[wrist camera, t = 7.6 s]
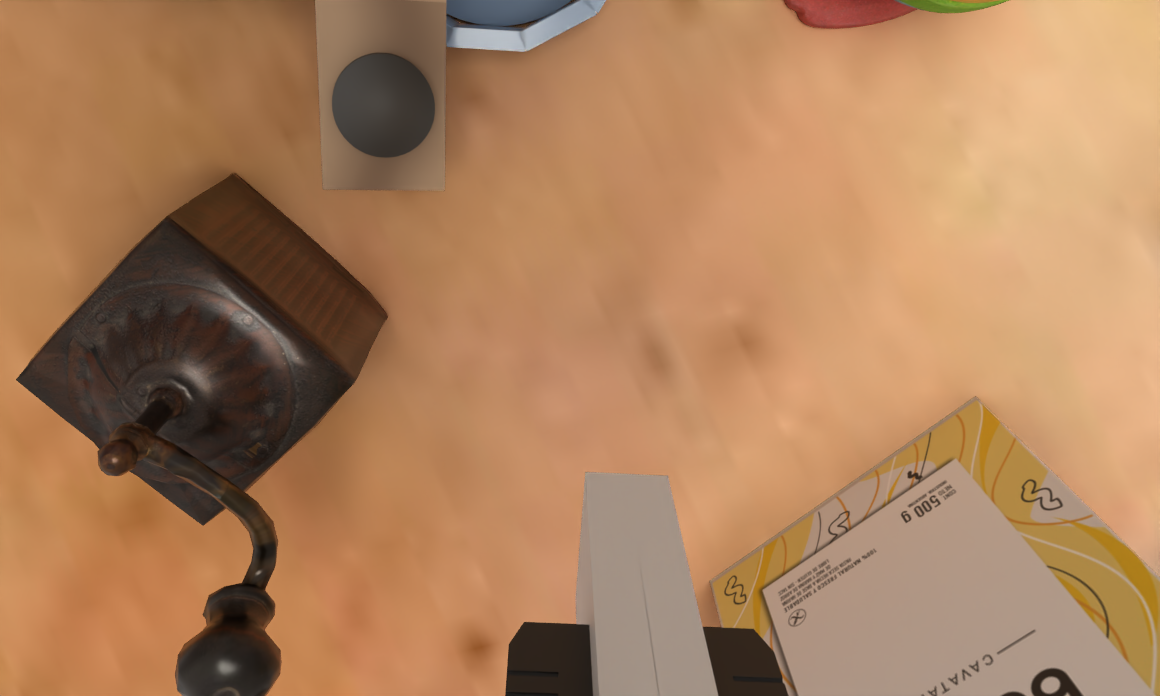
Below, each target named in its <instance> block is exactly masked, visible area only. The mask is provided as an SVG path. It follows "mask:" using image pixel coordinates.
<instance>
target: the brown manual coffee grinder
mask: <svg viewBox="0 0 1160 696" xmlns="http://www.w3.org/2000/svg"><path fill="white" fill-rule="evenodd" d="M387 318H388V316H387V314H386V313H385V311H384V310H383V309H382V308H381V306H380V305H379V304H378V303H377V301H376V300H375V299H374V297H373V296H372V295H371V294H370V292H369V291H368V290H367V289H366V288H365V287H364V286H363V285H362V284H361V283H360V282H359V281H358V280H356V279H355V278H354V277H353V276H352V275H351V274H350V273H349V272H348V271H347V270H346V269H345V268H344V267H343V266H342V265H341V264H339V263H338V262H337V261H336V260H335V259H334V258H333V257H332V256H331V255H330V254H328V253H327V252H326V251H325V250H324V249H323V248H322V247H321V246H320V245H319V244H317V243H316V242H315V241H314V240H313V239H312V238H311V237H310V236H309V235H307V234H306V233H305V232H304V231H303V230H302V229H301V228H299V227H298V226H297V225H296V224H295V223H294V222H292V221H291V220H290V219H289V218H288V217H286V216H285V215H284V214H283V213H282V212H280V211H279V210H278V209H277V208H276V207H274V206H273V205H272V204H271V203H270V202H269V201H267V200H266V199H265V198H264V197H263V196H261V195H260V194H259V193H258V192H257V191H255V190H254V189H253V188H252V187H251V186H250V185H248V184H247V183H246V182H245V181H244V180H242V179H241V178H240V177H239V176H238V175H236V174H231V175H230V176H229V177H228V178H227V179H225V180H223V181H222V182H220V183H218V184H217V185H215V186H213V187H212V188H210V189H208V190H207V191H205V192H203V193H202V194H200V195H199V196H197V197H195V198H194V199H192V200H191V201H189V202H188V203H186V204H185V205H183V206H182V207H180V208H179V209H177V210H176V211H174V212H173V213H171V214H170V215H168V216H167V217H166V218H165V219H164V220H162V221H161V222H160V223H159V224H158V225H157V226H156V227H155V228H154V229H153V230H152V231H150V232H149V233H148V234H147V235H146V236H145V237H144V238H143V239H142V240H141V241H140V242H139V243H137V244H136V245H135V246H134V247H133V248H132V249H131V250H130V252H129V253H128V254H127V255H126V256H125V257H124V258H123V259H122V260H121V261H120V262H119V263H118V264H117V265H116V266H115V268H114V269H113V270H112V271H111V272H110V273H109V274H108V275H107V276H106V277H105V278H104V279H103V280H102V282H101V283H100V284H99V285H98V286H97V287H96V288H95V289H94V290H93V291H92V292H91V293H90V294H89V295H88V297H87V298H86V299H85V300H84V301H83V302H82V303H81V304H80V305H79V306H78V307H77V308H76V309H75V311H74V312H73V313H72V314H71V315H70V316H69V317H68V318H67V319H66V320H65V321H64V322H63V323H62V325H61V326H60V327H59V328H58V329H57V330H56V331H55V332H54V333H53V334H52V336H51V337H50V338H49V339H48V340H47V341H46V343H45V344H44V345H43V346H42V347H41V348H40V350H39V351H38V352H37V353H36V354H35V356H34V357H33V358H32V359H31V361H30V362H29V364H28V366H27V367H26V368H25V369H24V371H23V372H22V373H21V374H20V375H19V377H18V378H17V379H16V380H17V381H18V382H19V383H20V384H22V385H23V386H24V387H25V388H27V389H28V390H29V391H30V392H31V393H33V394H34V395H35V396H36V397H38V398H39V399H40V400H41V401H42V402H44V403H45V404H46V405H47V406H49V407H50V408H51V409H52V410H53V411H55V412H56V413H57V414H58V415H60V416H61V417H62V418H63V419H65V420H66V421H67V422H68V423H70V424H71V425H72V426H74V427H75V428H76V429H78V430H79V431H80V432H81V433H83V434H84V435H85V436H87V437H88V438H89V439H90V440H92V441H93V442H94V443H95V444H96V446H97V447H98V448H99V449H100V450H99V451H98V465H99V467H100V469H101V471H103V472H104V473H105V474H107V475H112V476H121V475H123V474H125V473H127V472H128V471H130V472H131V473H133V474H135V475H137V476H138V477H140V478H141V479H142V480H143V481H145V482H146V483H147V484H149V485H150V486H151V487H153V488H154V489H155V490H156V491H158V492H159V493H160V494H162V495H163V496H164V497H165V498H167V499H168V500H169V501H171V502H172V503H173V504H175V505H176V506H177V507H179V508H180V509H181V510H183V511H184V512H185V513H187V514H188V515H189V516H191V517H192V518H193V519H195V520H196V521H197V522H199V523H200V524H201V525H205V524H206V523H207V522H209V521H210V520H211V519H213V518H214V517H215V516H217V515H218V514H219V513H221V512H222V511H223V510H225V509H226V508H227V509H228V510H229V511H230V512H232V513H233V514H234V515H235V516H236V517H238V519H239V520H240V521H241V522H242V524H243V525H244V526H245V528H246V529H247V530H248V531H249V534H250V538H251V541H252V545H253V548H254V549H253V556H252V562H251V564H250V566H249V568H248V571H247V573H246V575H245V578H244V580H243V582H242V583H239V584H235V585H230V586H226V587H223V588H221V589H219V590H218V591H216V592H214V593H212V594H210V595H209V597H208V600H207V603H206V606H205V610H204V613H203V616H204V617H205V619H206V623H207V626H206V627H205V629H204V630H203V631H202V632H200V633H199V634H198V635H196V636H195V637H193V638H192V639H191V640H189V641H188V642H187V643H185V644H184V646H183V648H182V649H181V651H180V653H179V654H178V659H177V665H176V671H175V678H176V684H177V690H178V692H180V693H181V694H182V695H183V696H266V695H267V694H268V692H269V691H270V689H271V688H272V686H273V684H274V683H275V681H276V680H277V678H278V677H279V675H280V670H281V651H280V649H279V648H278V647H277V645H276V644H275V643H274V642H273V641H272V639H271V638H270V637H269V636H268V635H267V633H266V632H265V628H266V627H267V625H268V624H269V623H270V621H271V620H272V618H273V617H274V615H275V603H274V601H273V600H272V598H271V597H270V596H269V595H268V594H267V592H266V591H265V588H266V586H267V583H268V581H269V579H270V577H271V575H272V572H273V570H274V568H275V565H276V557H277V546H278V539H277V535H276V531H275V527H274V523H273V521H272V520H271V519H270V517H269V516H268V515H267V514H266V512H265V511H264V510H263V509H262V507H261V506H260V505H259V504H258V502H257V501H255V500H254V499H253V498H251V497H250V496H249V495H248V494H246V493H245V492H246V491H247V490H248V489H249V488H250V487H251V486H252V485H253V484H254V483H255V482H256V481H258V480H259V479H260V478H261V477H262V476H263V475H264V474H265V473H266V472H267V471H268V470H269V469H270V468H271V467H272V466H273V465H274V464H275V463H276V462H277V461H278V460H279V459H280V458H282V457H283V456H284V455H285V454H286V453H287V452H288V451H289V450H290V449H291V448H292V447H294V446H295V445H296V444H297V443H298V442H299V441H300V440H301V439H303V438H304V437H305V436H306V435H307V434H308V433H309V432H310V431H311V430H313V429H314V428H315V427H316V426H317V425H318V424H319V423H320V421H321V420H322V419H323V418H324V417H325V415H326V414H327V413H328V412H329V411H330V410H331V408H332V407H333V406H334V405H335V404H336V403H337V401H338V400H339V399H340V398H341V397H342V395H343V394H344V393H345V392H346V391H347V390H348V389H349V388H350V387H351V386H352V385H353V384H354V382H355V381H356V379H357V377H358V375H359V373H360V371H361V369H362V367H363V364H364V362H365V360H366V358H367V356H368V354H369V351H370V349H371V347H372V345H373V343H374V341H375V339H376V337H377V334H378V332H379V330H380V329H381V327H382V325H383V323H384V322H385V320H386V319H387Z"/></svg>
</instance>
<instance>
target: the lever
mask: <svg viewBox="0 0 1160 696" xmlns="http://www.w3.org/2000/svg"><path fill="white" fill-rule="evenodd" d="M315 13H316V37H317V62H318V86H319V111H320V135H321V160H322V184H323V190H412V191H445V112H446V0H315Z"/></svg>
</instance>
